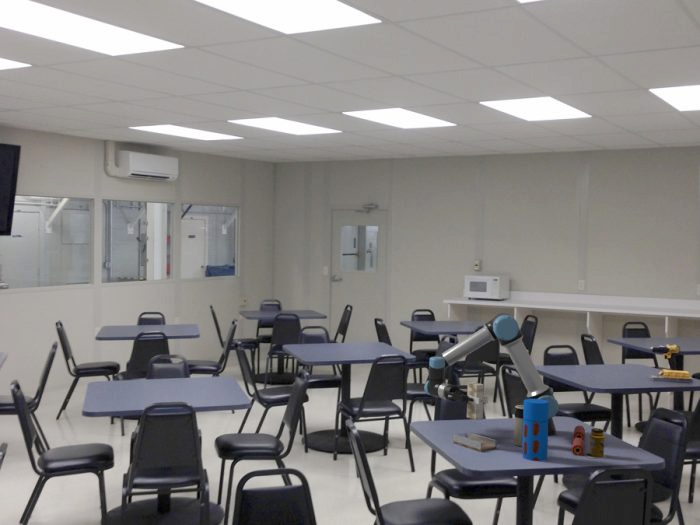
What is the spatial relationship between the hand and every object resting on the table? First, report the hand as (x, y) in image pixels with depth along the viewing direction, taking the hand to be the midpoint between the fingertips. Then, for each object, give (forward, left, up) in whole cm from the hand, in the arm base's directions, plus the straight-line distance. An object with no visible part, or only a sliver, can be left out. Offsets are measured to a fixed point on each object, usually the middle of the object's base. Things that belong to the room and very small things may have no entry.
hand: (483, 400), depth 354 cm
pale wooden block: (+5, -3, -9) cm, 10 cm away
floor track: (+4, -2, -22) cm, 23 cm away
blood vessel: (-38, -31, -22) cm, 54 cm away
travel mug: (-15, -16, -22) cm, 31 cm away
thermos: (-25, +4, -22) cm, 33 cm away
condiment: (-48, -13, -22) cm, 54 cm away
